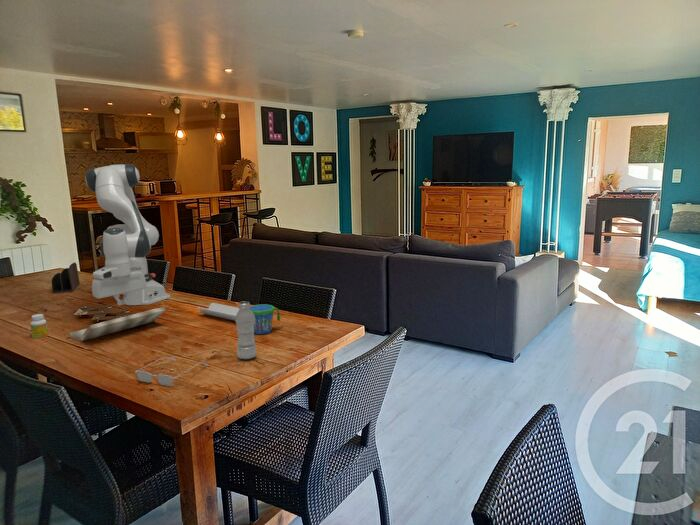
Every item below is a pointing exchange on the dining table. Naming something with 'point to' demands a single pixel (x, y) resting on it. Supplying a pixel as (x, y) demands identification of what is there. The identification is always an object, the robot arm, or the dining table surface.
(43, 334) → the supplement bottle
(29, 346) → the dining table surface
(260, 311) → the snack cup
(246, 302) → the plastic bottle
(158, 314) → the loose plank
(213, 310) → the z bracket
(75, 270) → the letter holder
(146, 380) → the eyeglasses
